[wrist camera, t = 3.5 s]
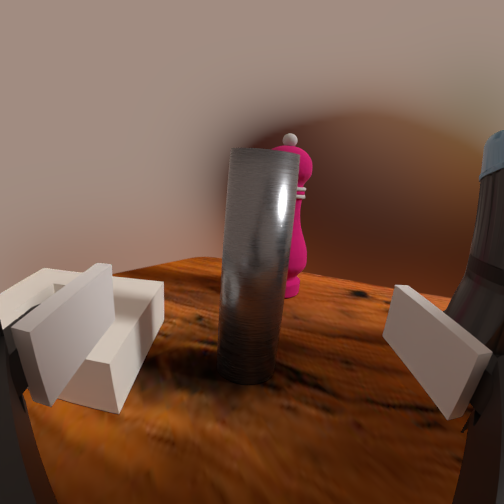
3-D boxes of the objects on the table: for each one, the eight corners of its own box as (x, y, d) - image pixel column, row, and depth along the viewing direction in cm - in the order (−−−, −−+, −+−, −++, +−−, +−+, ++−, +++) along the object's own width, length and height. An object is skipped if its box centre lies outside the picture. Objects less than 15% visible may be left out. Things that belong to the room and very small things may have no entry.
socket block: (164, 319, 30) (163, 281, 29) (119, 414, 16) (109, 363, 15) (48, 302, 29) (44, 267, 28) (-29, 365, 16) (-43, 320, 15)
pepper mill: (236, 283, 42) (249, 130, 37) (279, 278, 46) (294, 139, 41) (268, 304, 36) (286, 126, 32) (313, 295, 40) (332, 138, 36)
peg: (271, 353, 26) (294, 157, 22) (276, 385, 22) (306, 153, 18) (218, 350, 26) (232, 151, 22) (214, 382, 21) (229, 146, 18)
